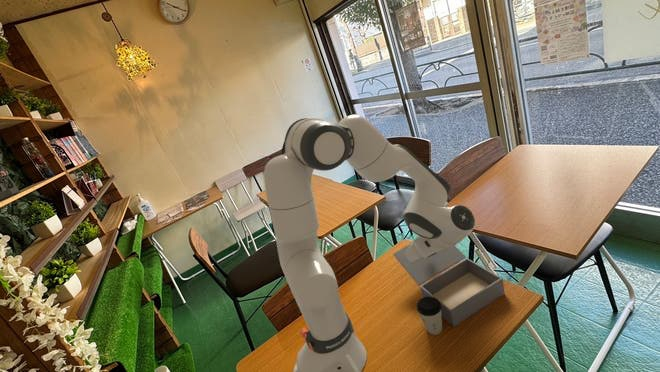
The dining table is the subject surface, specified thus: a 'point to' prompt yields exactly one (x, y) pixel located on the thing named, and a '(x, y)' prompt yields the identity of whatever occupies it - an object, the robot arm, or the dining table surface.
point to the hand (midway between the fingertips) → (426, 249)
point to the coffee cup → (430, 314)
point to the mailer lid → (429, 263)
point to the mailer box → (463, 290)
